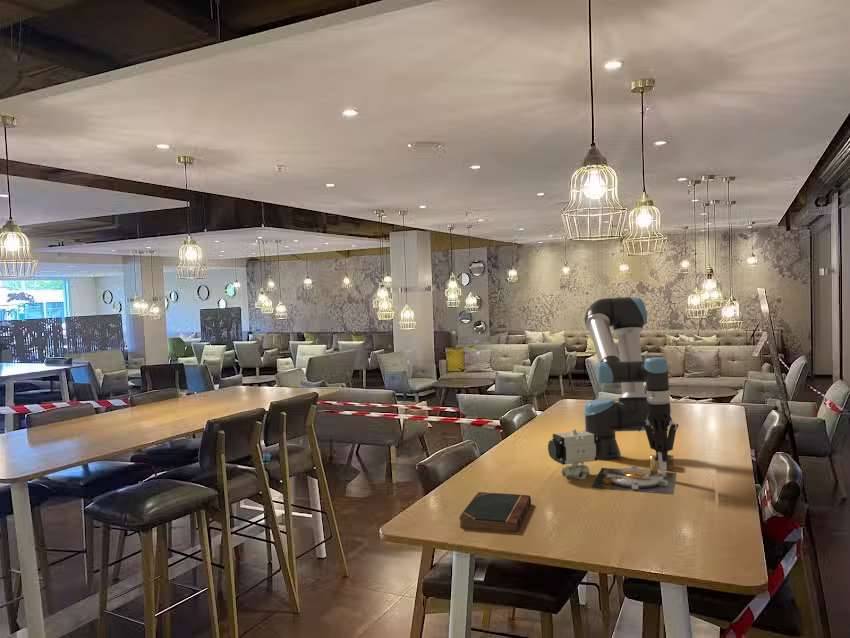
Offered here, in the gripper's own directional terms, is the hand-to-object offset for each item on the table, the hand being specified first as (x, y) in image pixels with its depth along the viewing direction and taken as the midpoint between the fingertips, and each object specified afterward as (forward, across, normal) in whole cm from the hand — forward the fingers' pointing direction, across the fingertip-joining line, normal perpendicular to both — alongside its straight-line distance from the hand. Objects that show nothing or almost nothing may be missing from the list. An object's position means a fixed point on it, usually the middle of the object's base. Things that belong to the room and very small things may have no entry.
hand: (662, 470), depth 221 cm
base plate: (+4, -7, -7) cm, 11 cm away
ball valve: (+4, -24, -17) cm, 30 cm away
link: (+5, -7, +14) cm, 17 cm away
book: (+4, -16, -64) cm, 66 cm away
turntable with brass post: (+3, -7, -7) cm, 10 cm away
